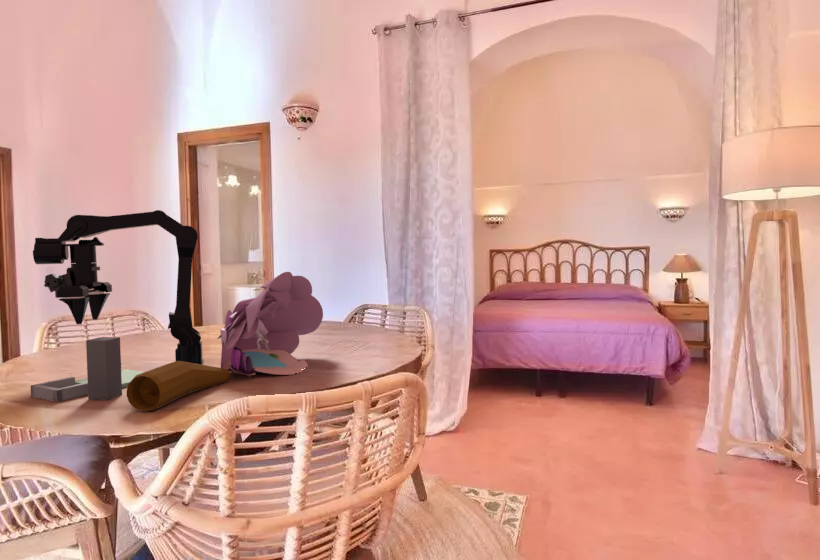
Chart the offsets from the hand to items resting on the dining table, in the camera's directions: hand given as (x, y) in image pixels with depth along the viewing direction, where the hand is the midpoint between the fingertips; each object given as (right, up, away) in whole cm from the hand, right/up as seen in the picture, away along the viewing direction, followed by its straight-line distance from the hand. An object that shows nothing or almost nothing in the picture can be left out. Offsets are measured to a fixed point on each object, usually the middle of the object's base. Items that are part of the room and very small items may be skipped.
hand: (87, 321), depth 130 cm
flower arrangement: (+48, -14, +4) cm, 50 cm away
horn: (+35, -15, -21) cm, 44 cm away
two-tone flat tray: (+11, -14, -13) cm, 22 cm away
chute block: (+18, -15, -22) cm, 32 cm away
